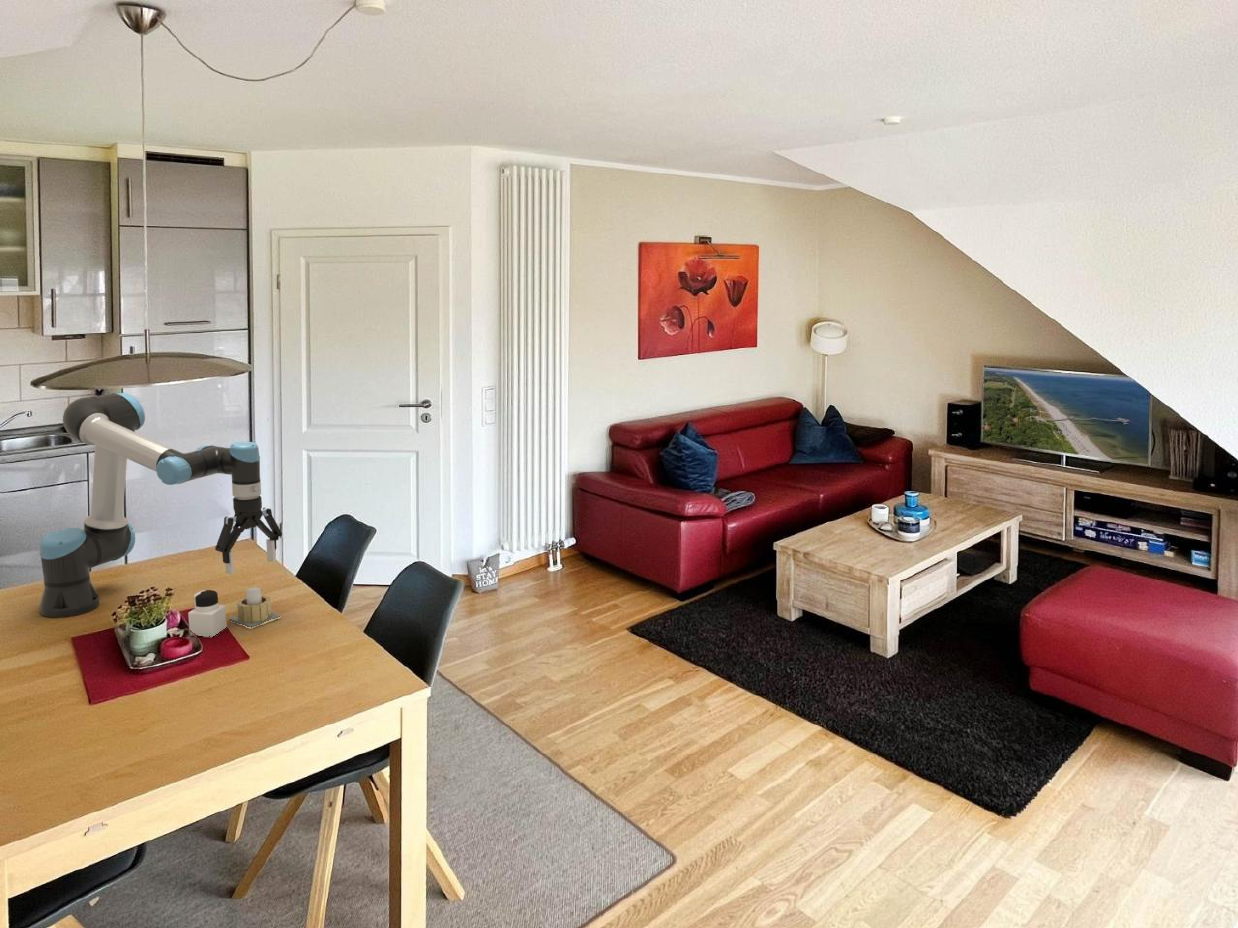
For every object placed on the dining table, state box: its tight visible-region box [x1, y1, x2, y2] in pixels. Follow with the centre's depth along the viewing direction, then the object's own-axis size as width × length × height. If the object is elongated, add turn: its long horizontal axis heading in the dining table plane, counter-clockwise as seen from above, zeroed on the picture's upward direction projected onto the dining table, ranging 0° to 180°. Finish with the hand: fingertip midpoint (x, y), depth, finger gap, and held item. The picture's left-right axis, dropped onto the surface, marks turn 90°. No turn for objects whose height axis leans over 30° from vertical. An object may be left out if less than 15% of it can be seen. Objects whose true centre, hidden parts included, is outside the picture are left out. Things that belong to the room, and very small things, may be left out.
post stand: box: [229, 586, 282, 628], centre depth 257 cm, size 10×10×10 cm
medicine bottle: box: [187, 589, 228, 638], centre depth 248 cm, size 7×7×12 cm
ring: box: [236, 594, 273, 623], centre depth 257 cm, size 9×9×5 cm
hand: (251, 567), depth 255 cm, fingers open, 13 cm apart
